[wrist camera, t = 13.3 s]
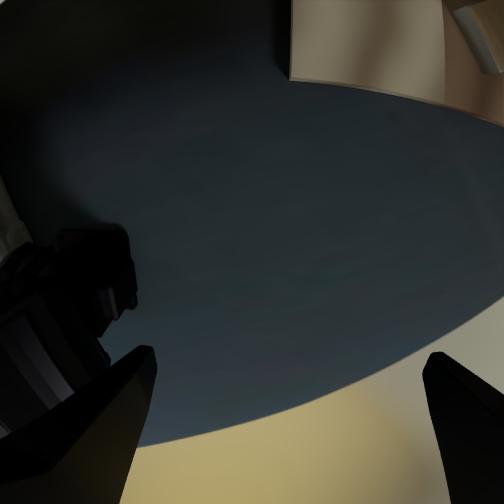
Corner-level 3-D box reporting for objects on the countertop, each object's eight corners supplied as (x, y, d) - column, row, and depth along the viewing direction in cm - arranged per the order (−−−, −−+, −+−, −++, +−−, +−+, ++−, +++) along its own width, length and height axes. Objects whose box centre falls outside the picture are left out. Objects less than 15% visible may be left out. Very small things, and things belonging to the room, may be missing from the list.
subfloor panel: (289, 80, 17) (291, 77, 16) (291, -75, 12) (293, -85, 10) (537, 141, 17) (548, 144, 15) (531, 11, 11) (540, 9, 10)
